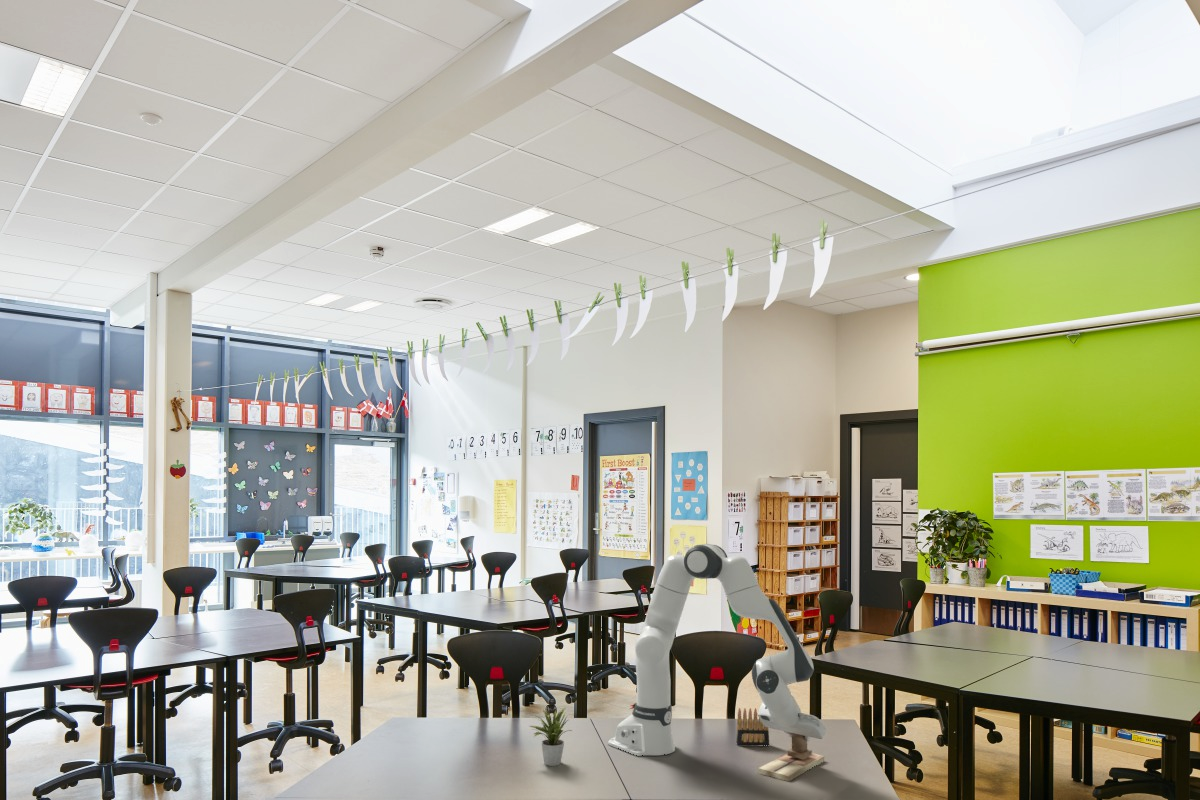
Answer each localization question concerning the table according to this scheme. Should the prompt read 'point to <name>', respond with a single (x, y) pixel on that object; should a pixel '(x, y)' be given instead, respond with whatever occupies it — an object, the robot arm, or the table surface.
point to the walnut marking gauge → (799, 747)
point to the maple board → (789, 766)
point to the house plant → (552, 738)
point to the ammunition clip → (751, 730)
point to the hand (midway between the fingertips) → (800, 737)
